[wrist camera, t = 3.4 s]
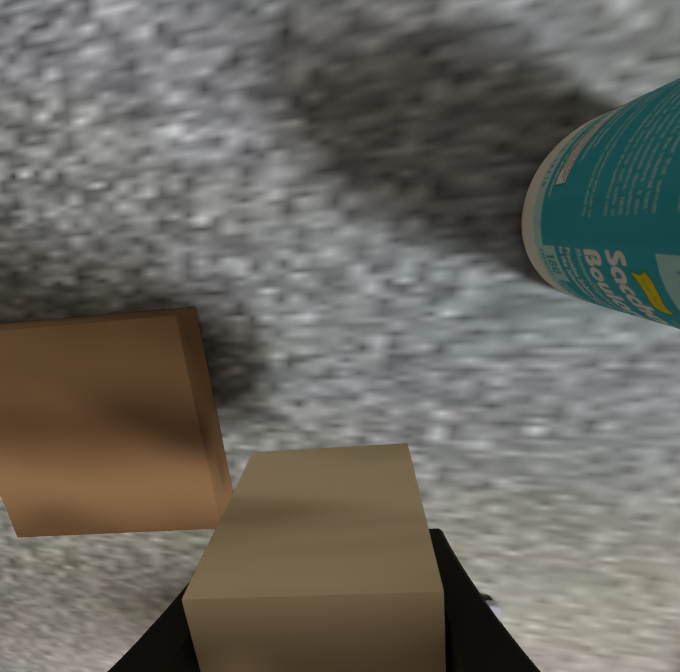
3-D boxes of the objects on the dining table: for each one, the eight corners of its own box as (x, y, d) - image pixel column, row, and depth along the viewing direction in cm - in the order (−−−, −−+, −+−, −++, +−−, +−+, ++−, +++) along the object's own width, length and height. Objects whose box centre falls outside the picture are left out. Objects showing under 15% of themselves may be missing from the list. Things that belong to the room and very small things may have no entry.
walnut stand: (234, 500, 20) (221, 528, 18) (48, 509, 21) (17, 537, 19) (195, 306, 17) (175, 315, 15) (-19, 325, 18) (-64, 336, 16)
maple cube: (413, 569, 13) (447, 769, 8) (274, 574, 13) (226, 769, 8) (407, 443, 12) (444, 591, 7) (252, 452, 12) (181, 599, 7)
